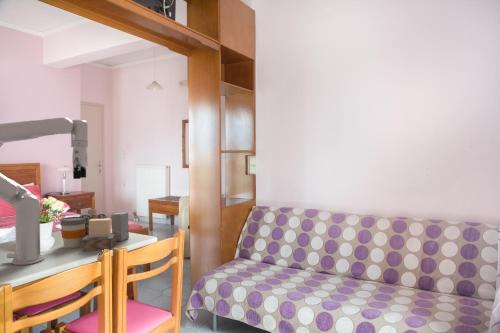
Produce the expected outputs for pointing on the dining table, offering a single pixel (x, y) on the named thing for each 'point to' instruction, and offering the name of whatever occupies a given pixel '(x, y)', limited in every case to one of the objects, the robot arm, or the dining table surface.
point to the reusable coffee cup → (73, 231)
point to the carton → (100, 227)
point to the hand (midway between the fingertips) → (79, 178)
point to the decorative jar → (91, 215)
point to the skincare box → (120, 226)
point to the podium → (99, 242)
